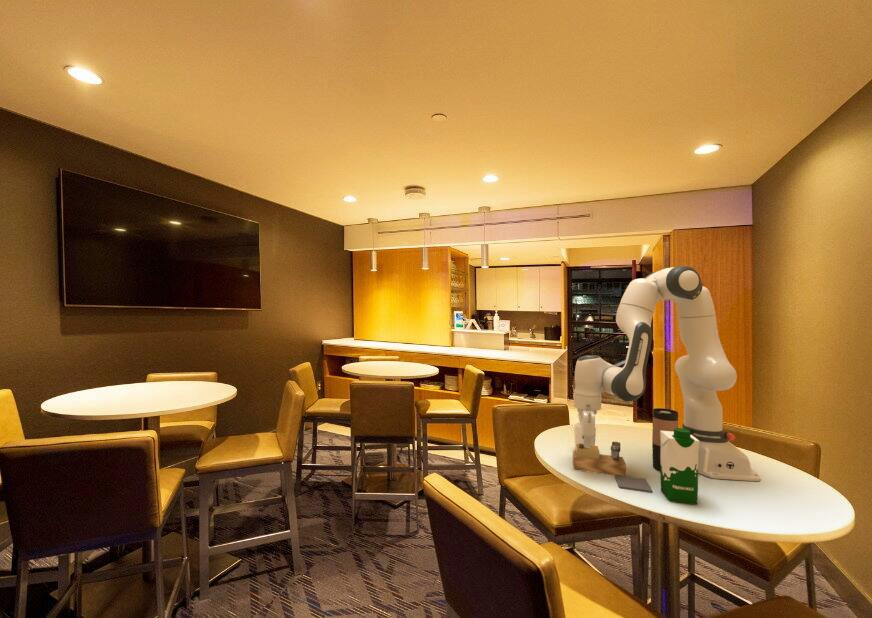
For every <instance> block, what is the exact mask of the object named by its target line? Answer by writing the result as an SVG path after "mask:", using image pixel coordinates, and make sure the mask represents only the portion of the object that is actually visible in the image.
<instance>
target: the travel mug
mask: <svg viewBox="0 0 872 618" xmlns="http://www.w3.org/2000/svg"><path fill="white" fill-rule="evenodd" d="M674 428H679V411H677V410H673V409H669V408H663V407H662V408H661V407H658V408H657V407H655V408H653V409H652V437H651V438H652V440H651V441H652V442H651V443H652V444H651V445H652V446H651V447H652V468H653V469H654V470H656V471H658V472H660V455H661V439H660V431H673V432H674Z"/></svg>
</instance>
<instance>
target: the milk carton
mask: <svg viewBox="0 0 872 618" xmlns="http://www.w3.org/2000/svg"><path fill="white" fill-rule="evenodd" d="M660 439H661V455H660V471H659V473H660V474H659V477H660V492H661V493H662V494H663V495H664V496H665V498H666V499H667V501H669V502H670V503H671V502H673V503H681V504H687V505H688V504H689V505H695V506H696V505H697V506H698V496H699V495H698V493H699V491H698V490H699V473H698V450H699V440H698V439H696V438H695V437H694V436H693V435H691V432H690V431H689V430H687V429H682V427H681V428H680V427H678V428H674V432H673V431H660Z"/></svg>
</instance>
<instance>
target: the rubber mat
mask: <svg viewBox="0 0 872 618" xmlns="http://www.w3.org/2000/svg"><path fill="white" fill-rule="evenodd" d="M614 479H615V481H616V484H617V486H618V488H619V489H622V490H627V491H635V492H644V493H648V494H649V493H651V494H652V493H653V492H654V490H653V489H652V488H651V486H650V484H649V482H648V480H647V478H643V477H635V476H628V475H626V476H622V475H614Z"/></svg>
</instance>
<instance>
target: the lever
mask: <svg viewBox="0 0 872 618" xmlns="http://www.w3.org/2000/svg"><path fill="white" fill-rule="evenodd" d="M621 445H622V444H621V442H619V441H611V445H610V450H611V452H610V453H611V457H613V458H617V454H618V452H619V453H620V452H621Z"/></svg>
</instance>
